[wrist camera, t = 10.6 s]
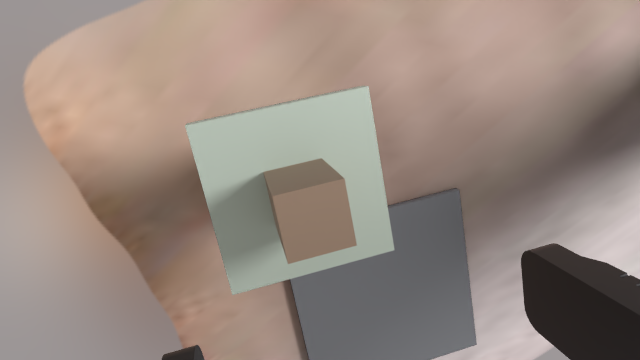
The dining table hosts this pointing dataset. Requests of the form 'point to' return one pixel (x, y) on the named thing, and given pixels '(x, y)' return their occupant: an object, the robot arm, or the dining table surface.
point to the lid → (293, 187)
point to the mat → (395, 291)
